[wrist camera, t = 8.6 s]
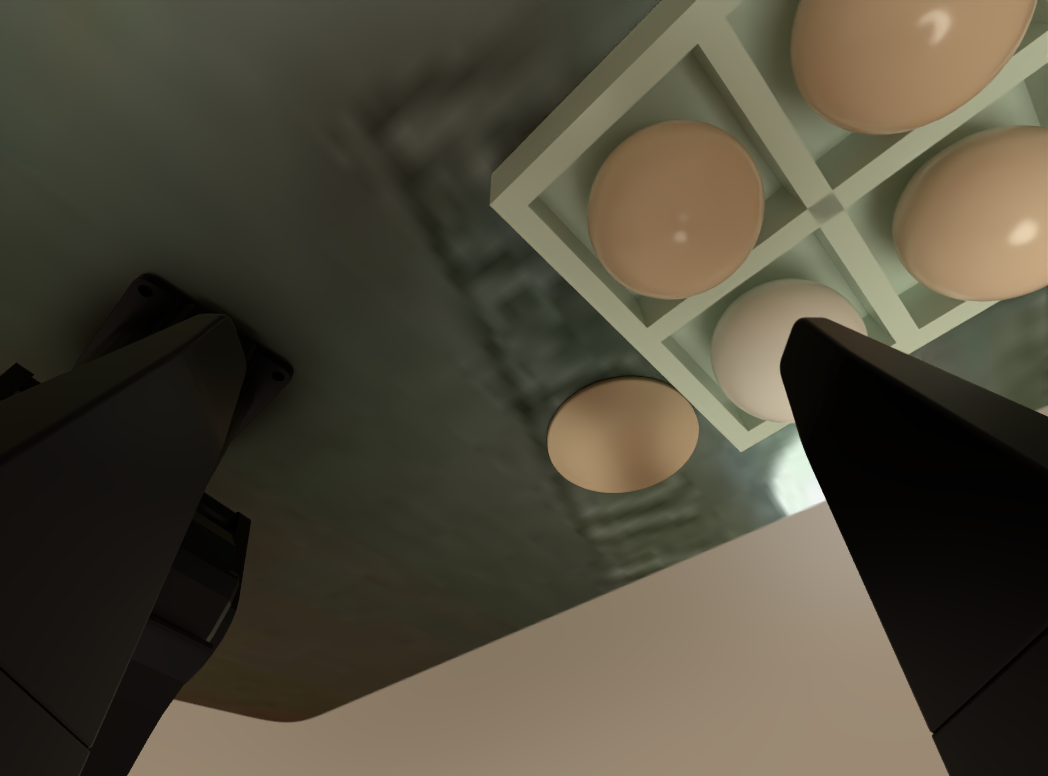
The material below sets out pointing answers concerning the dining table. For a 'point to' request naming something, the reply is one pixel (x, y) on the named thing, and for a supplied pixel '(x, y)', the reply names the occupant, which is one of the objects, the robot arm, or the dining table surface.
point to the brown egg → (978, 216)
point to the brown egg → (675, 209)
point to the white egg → (769, 341)
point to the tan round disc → (622, 434)
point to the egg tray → (786, 171)
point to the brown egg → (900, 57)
